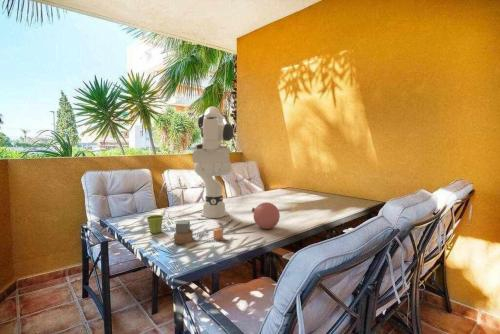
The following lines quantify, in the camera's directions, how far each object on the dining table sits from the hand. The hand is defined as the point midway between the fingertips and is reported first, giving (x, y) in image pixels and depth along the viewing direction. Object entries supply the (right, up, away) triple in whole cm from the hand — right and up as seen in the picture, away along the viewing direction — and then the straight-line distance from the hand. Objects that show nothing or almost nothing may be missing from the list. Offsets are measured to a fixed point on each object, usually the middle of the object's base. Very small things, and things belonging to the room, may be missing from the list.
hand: (211, 171), depth 160 cm
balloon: (+30, -34, +13) cm, 47 cm away
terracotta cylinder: (+4, -36, -5) cm, 37 cm away
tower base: (-13, -37, -8) cm, 40 cm away
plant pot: (-33, -35, +7) cm, 49 cm away
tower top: (-14, -32, -8) cm, 35 cm away
